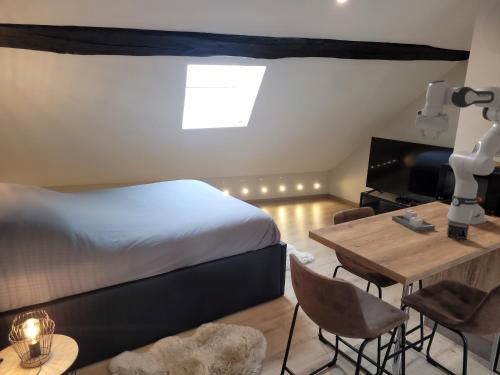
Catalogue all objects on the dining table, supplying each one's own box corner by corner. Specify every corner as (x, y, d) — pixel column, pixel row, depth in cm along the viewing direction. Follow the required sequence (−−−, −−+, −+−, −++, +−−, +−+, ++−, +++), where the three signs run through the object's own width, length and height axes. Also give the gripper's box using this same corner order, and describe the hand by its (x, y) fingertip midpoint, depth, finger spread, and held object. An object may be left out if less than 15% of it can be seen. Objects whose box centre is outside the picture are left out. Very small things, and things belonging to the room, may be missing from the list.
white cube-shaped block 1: (410, 217, 209) (411, 209, 208) (416, 220, 205) (417, 211, 203) (404, 217, 208) (405, 209, 207) (410, 220, 204) (411, 212, 202)
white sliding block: (414, 224, 197) (416, 216, 196) (421, 228, 193) (422, 219, 192) (408, 225, 196) (410, 216, 195) (415, 228, 192) (416, 219, 190)
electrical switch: (467, 238, 183) (470, 221, 180) (466, 242, 179) (469, 225, 176) (446, 234, 188) (449, 218, 185) (445, 238, 184) (447, 221, 181)
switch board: (410, 218, 211) (410, 214, 211) (434, 230, 194) (435, 225, 193) (391, 219, 208) (392, 215, 207) (414, 231, 190) (415, 227, 190)
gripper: (453, 113, 179) (449, 141, 183) (424, 111, 198) (420, 136, 202) (443, 113, 178) (439, 141, 181) (414, 111, 197) (410, 137, 200)
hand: (429, 139), depth 192 cm, fingers open, 8 cm apart
